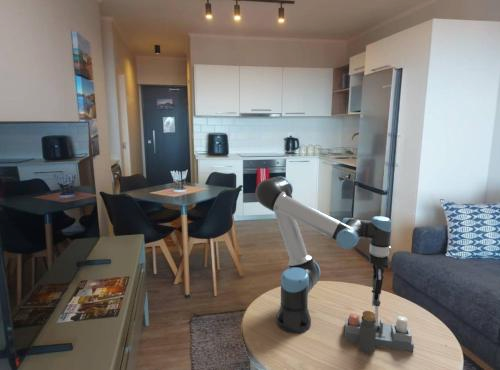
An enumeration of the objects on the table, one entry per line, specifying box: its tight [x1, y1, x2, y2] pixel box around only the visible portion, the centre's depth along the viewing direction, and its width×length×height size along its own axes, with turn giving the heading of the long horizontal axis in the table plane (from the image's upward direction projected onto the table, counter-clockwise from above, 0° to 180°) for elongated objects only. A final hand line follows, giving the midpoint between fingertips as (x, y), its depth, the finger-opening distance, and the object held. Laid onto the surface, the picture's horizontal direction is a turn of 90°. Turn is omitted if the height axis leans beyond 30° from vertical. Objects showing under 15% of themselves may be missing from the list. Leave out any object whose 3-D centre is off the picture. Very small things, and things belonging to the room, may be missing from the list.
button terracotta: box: [348, 313, 360, 327], centre depth 136 cm, size 4×4×5 cm
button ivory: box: [395, 315, 409, 334], centre depth 131 cm, size 4×4×5 cm
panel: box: [344, 317, 415, 352], centre depth 136 cm, size 25×12×7 cm, turn 75°
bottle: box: [358, 310, 376, 355], centre depth 128 cm, size 6×6×15 cm
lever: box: [373, 299, 381, 330], centre depth 138 cm, size 3×3×12 cm
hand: (375, 305), depth 142 cm, fingers closed
